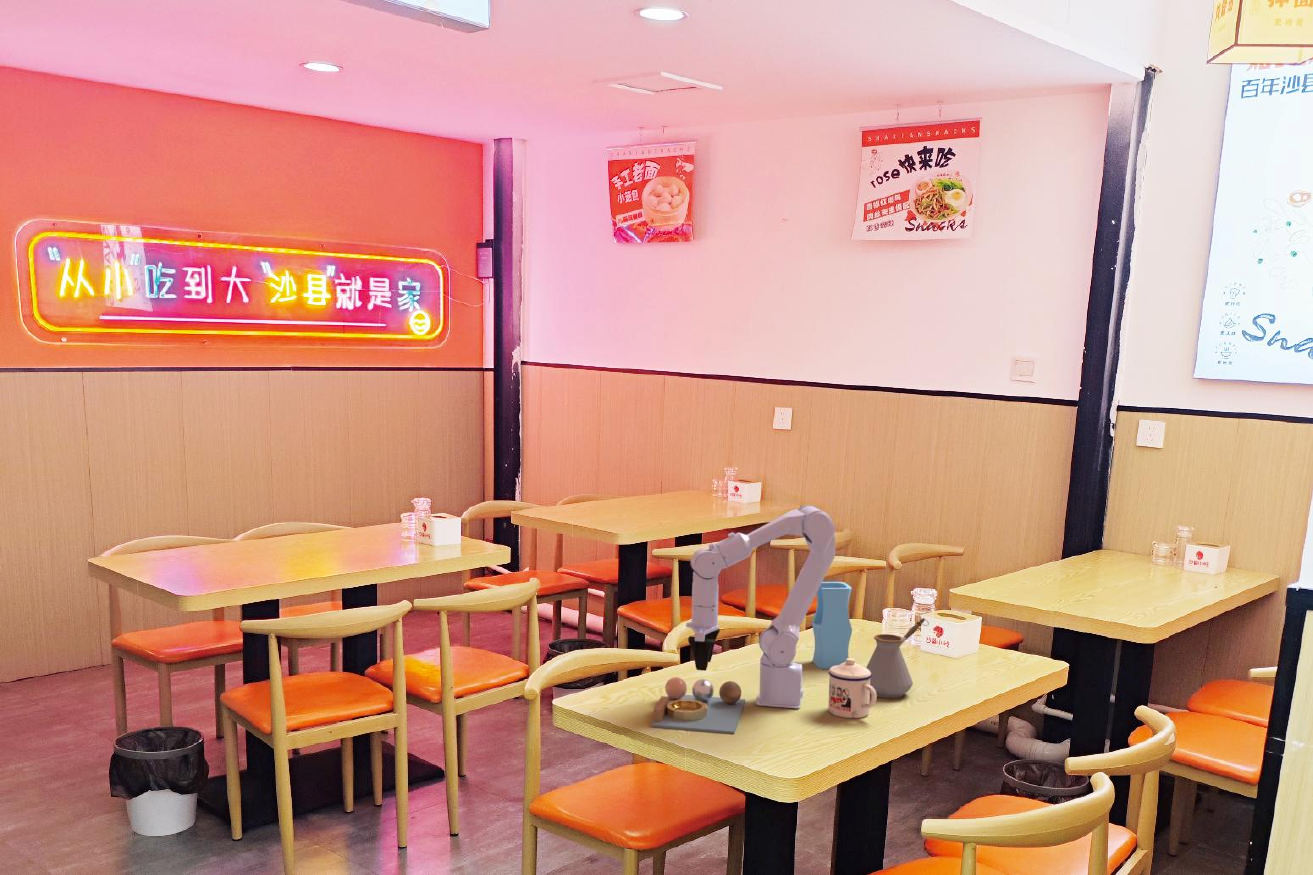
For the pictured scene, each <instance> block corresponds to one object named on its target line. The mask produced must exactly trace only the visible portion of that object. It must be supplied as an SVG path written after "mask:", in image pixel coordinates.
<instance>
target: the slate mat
mask: <svg viewBox="0 0 1313 875" xmlns="http://www.w3.org/2000/svg"><path fill="white" fill-rule="evenodd" d="M681 699H691V700H697V699H695V697H694V696H693V694H685V695H684V696H683V697H682V698H681ZM674 700H675V699H671V698H670V697H669V696H668V695H667V696H664V695H662V696H661V697H659V700H658V701H657V703H656V705H655V706H654V708H653V714H652V715H653V716H652V717H653V718H652V723H651V725H650V727H651V728H656V729H657V728H658V729H672V730H683V731H693V732H706V733H716V734H718V733H719V734H729V735H735V733H736V730H737V727H738V724H739V722H740V718H741V715H742V713H743V710H744V707H745V704H746V699H745V698H744V699H742V698H740V699H739V700H738V701H737V702H736V703H733V704H728V703H725V702H724V701H723V700H722V699H721V698H720V696H719V697H718V696H712V698H711V699H710V700H708V701H705V702H703V703H705V704H706V705H707V716H706V717H705V718H703V719H700V720H695V721H682V720H676V719H672V718H670V717H668V716H667V713H666V704H667V703H669V702H670V701H674ZM677 700H679V699H677ZM697 701H698V700H697Z"/></svg>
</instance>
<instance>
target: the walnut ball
mask: <svg viewBox="0 0 1313 875" xmlns="http://www.w3.org/2000/svg"><path fill="white" fill-rule="evenodd" d="M718 691H719V692H718V694H719V697H720V698H721V699H722V700H723V701H724V702H725V703H728V704H733V703H736V702H737V701H738V700H739V699H741V696H742V689H741V686H740V684H738V683H737V682H735V681H732V680H728V681H726V682H724V683H722V684H721V686H720V688H719V690H718Z"/></svg>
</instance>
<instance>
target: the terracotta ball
mask: <svg viewBox="0 0 1313 875" xmlns="http://www.w3.org/2000/svg"><path fill="white" fill-rule="evenodd" d="M687 686H688V685H687V683H686V681H685V680H684V679H683V678H681V677H678V676H674V677H671V678H669V679H668V680H667V681H666V683H665V686H664V691H665V693H666V695H667V697H668V696H669V697H670V698H671V699H675V700H677V699H681V698H682V697H683V696H684V695H687V691H688V687H687Z"/></svg>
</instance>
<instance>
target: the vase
mask: <svg viewBox="0 0 1313 875" xmlns="http://www.w3.org/2000/svg"><path fill="white" fill-rule="evenodd" d="M851 592H852V586H850V585H849V584H847V583H846V582H843V581H822V583H821V585H820V587H819V589H818V591H817V593H816V610H815V613H814V616H813V619H812V622H811V623H812V624H811V625H812V631H813V637H814V652H813V658H812V662H813V664H814V665H815V666H816V667H817V668H818V669H822V670H830V668H831V667H833V666H836V665H840V664H842V663H845V662H846V659H847V658H849V646H850V641H851V636H852V634H853V628H852V625H851V622H850V621H851V620H850V615H849V602H850V598H851V597H850V596H851Z"/></svg>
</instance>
